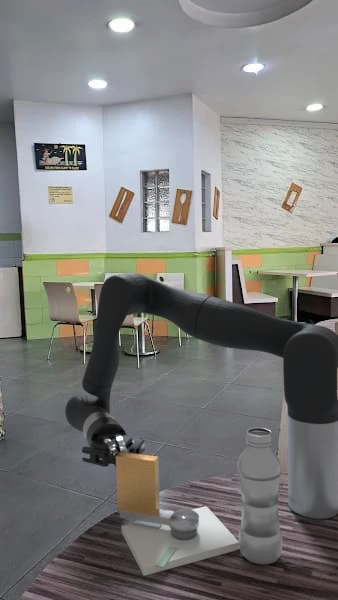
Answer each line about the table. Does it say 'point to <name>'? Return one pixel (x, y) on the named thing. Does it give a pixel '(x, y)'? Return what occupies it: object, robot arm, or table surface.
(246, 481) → the plastic bottle
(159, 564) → the base plate
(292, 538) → the table surface
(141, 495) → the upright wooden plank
